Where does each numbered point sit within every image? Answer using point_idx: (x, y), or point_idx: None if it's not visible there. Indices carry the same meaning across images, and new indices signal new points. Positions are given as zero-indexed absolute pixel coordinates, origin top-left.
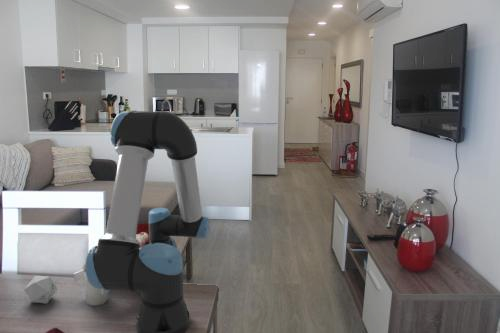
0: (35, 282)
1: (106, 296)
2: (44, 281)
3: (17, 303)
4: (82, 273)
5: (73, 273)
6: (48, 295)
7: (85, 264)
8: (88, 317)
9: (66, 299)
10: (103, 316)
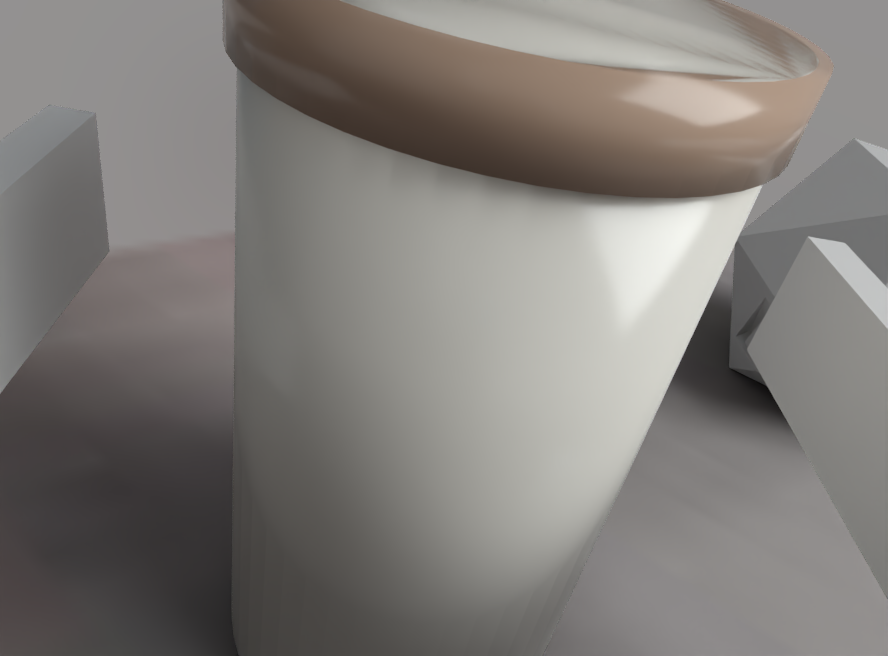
0: (857, 144)
1: (233, 587)
2: (864, 187)
3: None
4: (851, 367)
5: (840, 242)
6: (737, 290)
7: (725, 6)
8: (200, 339)
9: (694, 464)
10: (40, 387)
